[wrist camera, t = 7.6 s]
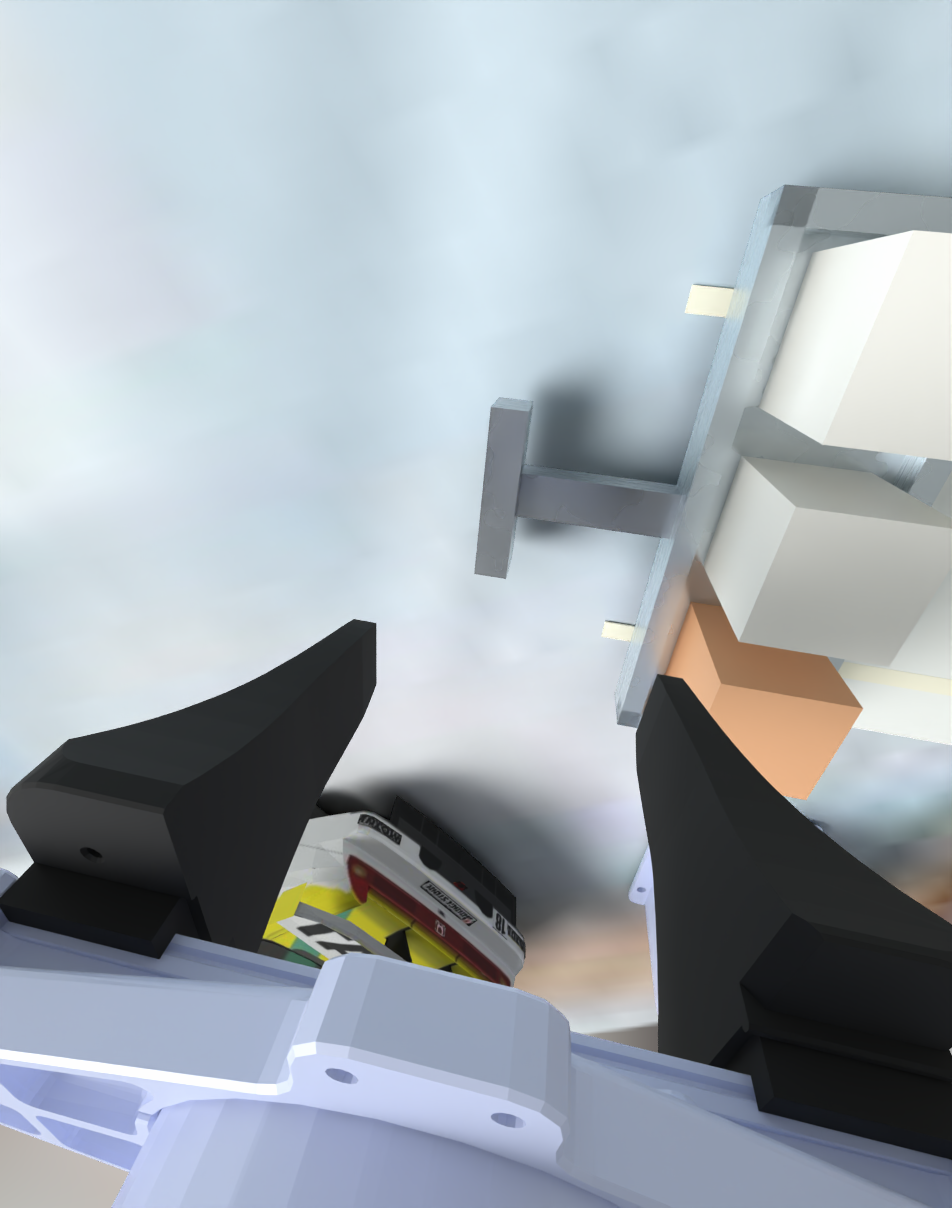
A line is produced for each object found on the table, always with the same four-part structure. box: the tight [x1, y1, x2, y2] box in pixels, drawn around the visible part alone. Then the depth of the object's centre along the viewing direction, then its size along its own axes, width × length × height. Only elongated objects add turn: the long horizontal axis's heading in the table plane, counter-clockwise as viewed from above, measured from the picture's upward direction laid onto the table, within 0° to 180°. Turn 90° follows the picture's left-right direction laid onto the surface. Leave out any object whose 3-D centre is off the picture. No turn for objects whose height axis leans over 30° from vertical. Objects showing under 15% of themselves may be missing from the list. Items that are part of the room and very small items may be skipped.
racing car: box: [257, 795, 525, 987], centre depth 36 cm, size 17×39×12 cm, turn 132°
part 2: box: [703, 456, 952, 667], centre depth 16 cm, size 4×4×5 cm
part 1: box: [759, 230, 952, 461], centre depth 13 cm, size 4×4×5 cm
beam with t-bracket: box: [474, 185, 952, 728], centre depth 19 cm, size 18×14×3 cm
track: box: [601, 285, 952, 745], centre depth 19 cm, size 19×18×1 cm
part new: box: [665, 602, 863, 800], centre depth 18 cm, size 4×4×5 cm
